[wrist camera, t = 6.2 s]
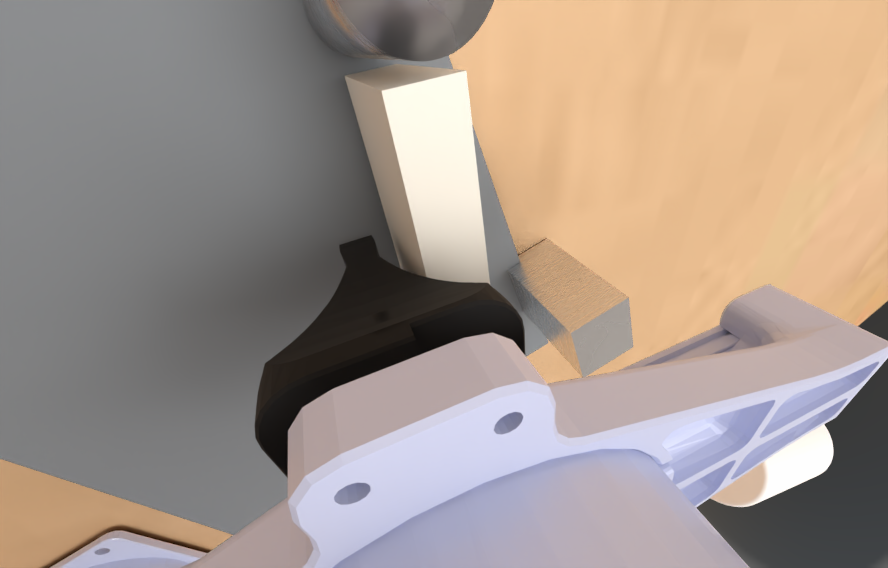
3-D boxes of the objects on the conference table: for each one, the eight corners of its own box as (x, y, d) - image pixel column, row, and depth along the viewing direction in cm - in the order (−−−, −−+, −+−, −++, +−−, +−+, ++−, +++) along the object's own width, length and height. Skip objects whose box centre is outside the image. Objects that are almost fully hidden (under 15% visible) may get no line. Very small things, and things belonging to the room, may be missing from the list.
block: (459, 339, 17) (512, 429, 13) (420, 354, 16) (462, 452, 12) (404, 61, 10) (479, 67, 6) (334, 77, 10) (366, 94, 6)
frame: (522, 311, 18) (612, 412, 13) (279, -13, 9) (264, -104, 4) (567, 276, 18) (676, 364, 13) (366, -95, 9) (477, -311, 4)
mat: (236, 527, 19) (235, 535, 19) (-633, 227, 6) (-680, 236, 6) (544, 338, 20) (548, 342, 20) (326, -276, 7) (327, -292, 7)
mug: (693, 385, 31) (794, 469, 25) (758, 371, 35) (860, 441, 29) (633, 467, 37) (703, 551, 31) (695, 448, 41) (768, 519, 35)
